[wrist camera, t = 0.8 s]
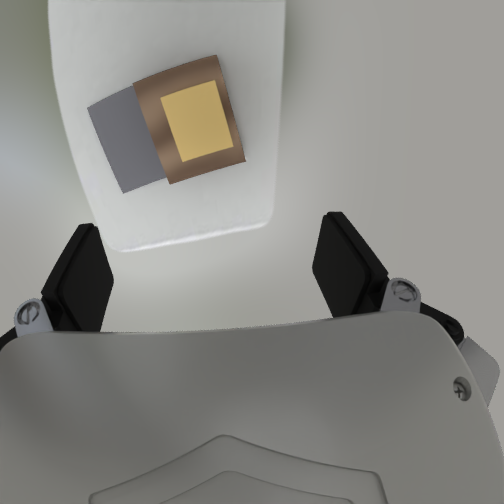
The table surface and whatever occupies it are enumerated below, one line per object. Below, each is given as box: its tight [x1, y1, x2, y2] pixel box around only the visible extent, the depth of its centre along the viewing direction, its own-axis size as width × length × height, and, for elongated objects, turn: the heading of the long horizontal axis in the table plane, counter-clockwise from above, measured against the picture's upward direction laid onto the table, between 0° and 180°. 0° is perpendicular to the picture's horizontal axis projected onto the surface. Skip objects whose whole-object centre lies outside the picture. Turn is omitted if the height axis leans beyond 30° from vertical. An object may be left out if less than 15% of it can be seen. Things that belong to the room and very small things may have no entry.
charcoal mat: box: [87, 86, 167, 193], centre depth 31 cm, size 14×8×1 cm, turn 13°
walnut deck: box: [133, 55, 246, 184], centre depth 30 cm, size 14×10×4 cm
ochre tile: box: [160, 80, 234, 162], centre depth 27 cm, size 8×6×2 cm
